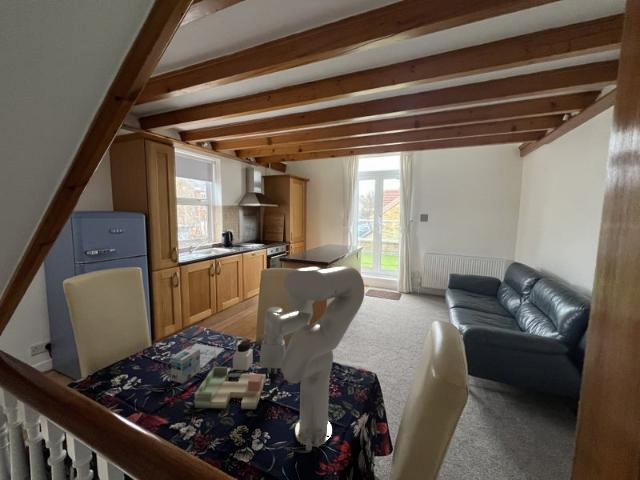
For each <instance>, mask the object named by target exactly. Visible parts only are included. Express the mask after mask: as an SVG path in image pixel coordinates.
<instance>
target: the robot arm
mask: <svg viewBox="0 0 640 480" xmlns="http://www.w3.org/2000/svg"><path fill="white" fill-rule="evenodd" d="M363 279H364V278H363V277H362V275H361V273H360V272H359V271H358V269H356V268H354V267H352V266H348V265H347V266H346V265H345V266H343V265H341V266H334V267H329V268H328V267H327V268H322V267H319V266H306V267H300V268H299V267H298V268H293V269H291V270H289V271H288V272H287V273H286V274H285V276H284V279H283V288H284V291H285V292H286V294H287V295H288V303H289V305H290V306H291V308H293V309H294V310H293V311H289V312H285V311H284V309H283V308H282V307H279V306H271V307H268V308H267V309H265V311H264V333H263V334H261V335H260V339H263V340H262V342H261V346H260V353H259V354H260V355H259V368H262V369H265V370H266V371H267V374H268V380H269V384H271V383H272V384H274V383H275V381H276V380H277V377H278V376H277V375H278V372H279V371H280V370H281V372H282V373H281V374H282V376H283V377H284V379H285V380H286V381H287V382H289V383H291V384H299V383H300V394H299V402H300V403H299V420H298V421H297V422H296V424H295V427H294V435H295V439H296V441H298V443H299V442H300V443H299V444H300V445H302V444H303V445H302V446H304V445H306V446H305V450H306V451H307V452H310V451H312V450H313V448H312V446H316V447H317V448H320V447H319V445H321V444H323V443H324V442H326V441H327V440H328V439H329V438H330V437H331V438H332V436H331V435H333V428H332V424H331V422H329V397H330V394H329V392H330V379H331V371H332V366H333V361H334V352H333V351H334V350H336V348H337V347H338V346H339V344H340V343H341V341H342V340H343V337H344V335H345V334H346V332H347V330H348V329H349V327H350V325H351V323H352V322H353V320H354V318H355V317H356V315H357V314H358V312H359V310H360V308H361V307H362V304H363V301H364V298H365V282H364V280H363ZM329 299H332V300H331V301H330V303H328V305H327V306H326V308H324V311H323V313H322V315H321V316H320V317H319V319H317V321H314V322H312V323H309V322H310V321H311V320H312V319H313V315H314V308H313V304H314V302H321V301H325V300H329ZM289 334H292V335H291V337H290V339H289V342H288V344H287V345H286V343H285V339H284V336H286V335H289ZM327 436H329V437H327ZM312 443H314V444H312Z"/></svg>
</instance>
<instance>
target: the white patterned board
mask: <svg viewBox="0 0 640 480" xmlns="http://www.w3.org/2000/svg"><path fill="white" fill-rule="evenodd" d="M191 347H194V348H198V349H200V370H202V369H203V368H204V367H206V365H207V364H209V363H210V362H211V361H212V360H213V359H215V358H217V356H219V354H220V353H222V352H223V351H224V350H225V348H224V347H216V346H210V345H207V344H206V345H205V344H200V343H194V344H193V345H192V346H191ZM168 364H171V360H169V361H168Z"/></svg>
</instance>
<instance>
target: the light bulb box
mask: <svg viewBox="0 0 640 480" xmlns="http://www.w3.org/2000/svg"><path fill="white" fill-rule="evenodd" d="M170 361H171V363H170V374H171V375H170V376H171V377H170V381H173V382H176V383H178V384H179V383H180V384H184V383H185V382H187V381H188V380H190V379H191V378H193V377H194V376H196V375H197V374H198V373H200V372H201V369H200V349H198V348H194V347H192V346H188V347H186V348H184V349H182V350H181V351H178V352H177V353H175V354H174V355H173V356H170Z"/></svg>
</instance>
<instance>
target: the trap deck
mask: <svg viewBox="0 0 640 480" xmlns="http://www.w3.org/2000/svg"><path fill="white" fill-rule="evenodd" d="M251 375H262V385H261V388H260V391H248V381H249V378H250V376H251ZM266 377H267V376H266V374H265V373H264V374H263V373H241V375H240V377H239V379H238V381H228V380H229V378H230V377H229V373H228V366H213V367H212V368H211V370H210V371H209V372H208V374H207V376H206V377H205V378H204V380H203V381H202V383H201V384H200V385H199V387H198V388H197V390H196V391H195V392H194V408H197V409H198V408H199V409H200V408H201V409H202V408H203V409H204V408H205V409H226V408H227V406H228V404H229V401H230V400H231V399H242V400H241V402H240V403H241V404H240V405H241V406H240V407H241V410H256V409H257V407H258V404H259V400H260V398H261V395H262V393H263V392H262V391H263V389H264V385H265V383H266V379H267V378H266Z"/></svg>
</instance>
